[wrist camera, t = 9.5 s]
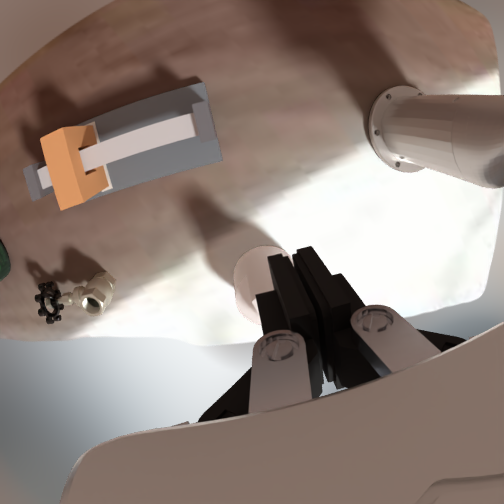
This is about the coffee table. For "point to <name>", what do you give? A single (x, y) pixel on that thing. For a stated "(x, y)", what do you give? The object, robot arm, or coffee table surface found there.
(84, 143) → the orange rectangular prism
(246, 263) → the cylinder with rectangular tab
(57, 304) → the valve
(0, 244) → the coffee jar
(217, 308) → the coffee table surface
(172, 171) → the slider rail fixture
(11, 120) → the coffee table surface
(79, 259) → the coffee table surface
